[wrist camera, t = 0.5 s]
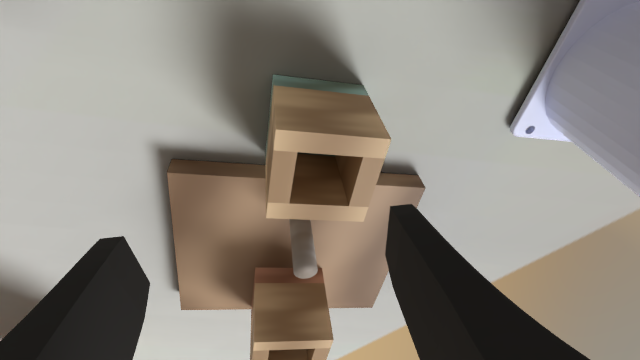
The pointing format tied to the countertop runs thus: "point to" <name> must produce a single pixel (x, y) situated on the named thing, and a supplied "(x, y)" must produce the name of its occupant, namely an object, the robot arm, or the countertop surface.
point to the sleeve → (322, 150)
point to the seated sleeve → (289, 316)
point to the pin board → (272, 237)
